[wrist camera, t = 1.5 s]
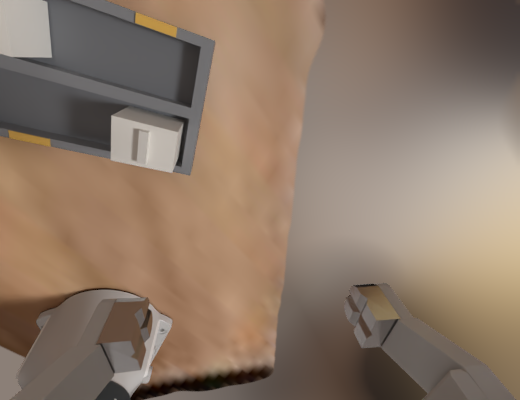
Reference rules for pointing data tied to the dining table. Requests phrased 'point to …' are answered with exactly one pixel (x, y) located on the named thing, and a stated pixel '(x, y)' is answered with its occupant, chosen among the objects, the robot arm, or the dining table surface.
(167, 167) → the white cube-shaped block
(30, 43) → the white sliding block
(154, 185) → the dining table surface
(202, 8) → the dining table surface
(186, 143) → the switch board
